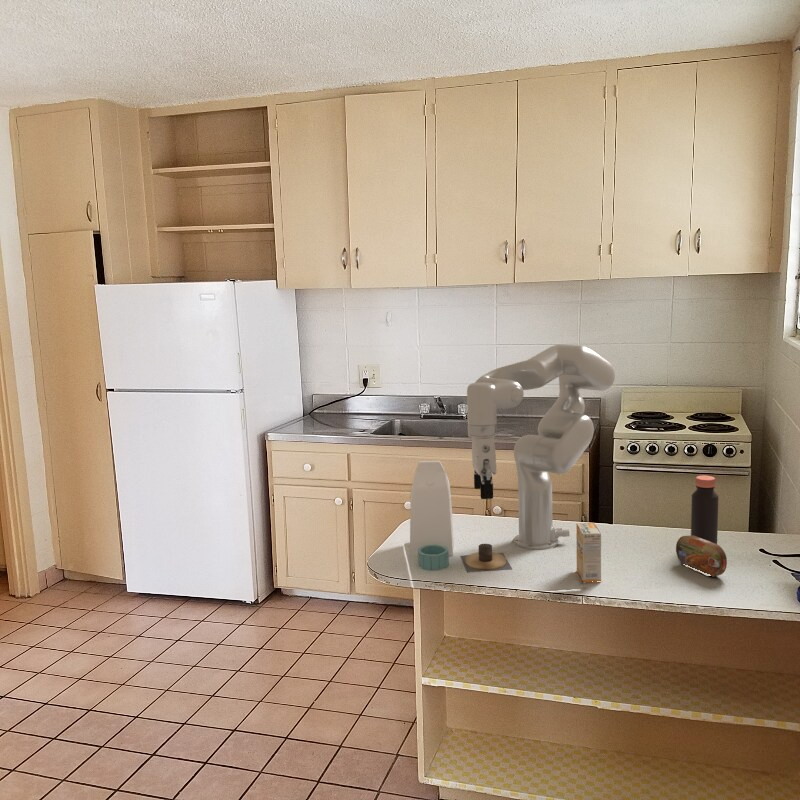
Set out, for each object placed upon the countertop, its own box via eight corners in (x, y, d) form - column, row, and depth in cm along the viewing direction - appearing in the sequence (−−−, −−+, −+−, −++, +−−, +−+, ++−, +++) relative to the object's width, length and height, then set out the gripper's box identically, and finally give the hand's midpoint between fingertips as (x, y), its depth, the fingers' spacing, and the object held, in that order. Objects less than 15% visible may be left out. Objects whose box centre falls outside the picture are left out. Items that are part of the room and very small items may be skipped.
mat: (503, 554, 210) (503, 552, 210) (512, 571, 199) (512, 569, 198) (460, 557, 210) (460, 555, 209) (467, 574, 198) (467, 572, 198)
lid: (501, 553, 210) (501, 537, 209) (510, 568, 199) (509, 551, 198) (462, 556, 209) (461, 540, 208) (468, 571, 198) (468, 554, 197)
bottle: (722, 550, 207) (724, 479, 203) (700, 553, 205) (702, 482, 202) (706, 542, 213) (708, 473, 210) (685, 545, 212) (686, 475, 208)
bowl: (446, 559, 208) (445, 544, 208) (450, 570, 200) (449, 554, 200) (417, 561, 208) (416, 545, 207) (420, 572, 200) (419, 556, 199)
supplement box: (575, 570, 197) (575, 522, 195) (594, 570, 197) (594, 521, 195) (582, 583, 189) (582, 533, 187) (601, 583, 189) (601, 532, 187)
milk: (454, 543, 221) (451, 456, 217) (453, 557, 210) (450, 466, 206) (413, 543, 222) (409, 456, 218) (409, 557, 211) (406, 466, 207)
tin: (674, 562, 200) (675, 531, 199) (683, 560, 201) (684, 529, 200) (719, 582, 186) (720, 549, 185) (728, 580, 188) (729, 547, 186)
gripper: (503, 436, 190) (504, 502, 193) (490, 423, 207) (491, 484, 210) (473, 437, 189) (475, 503, 192) (462, 424, 206) (464, 485, 209)
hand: (483, 493), depth 201 cm, fingers open, 9 cm apart
